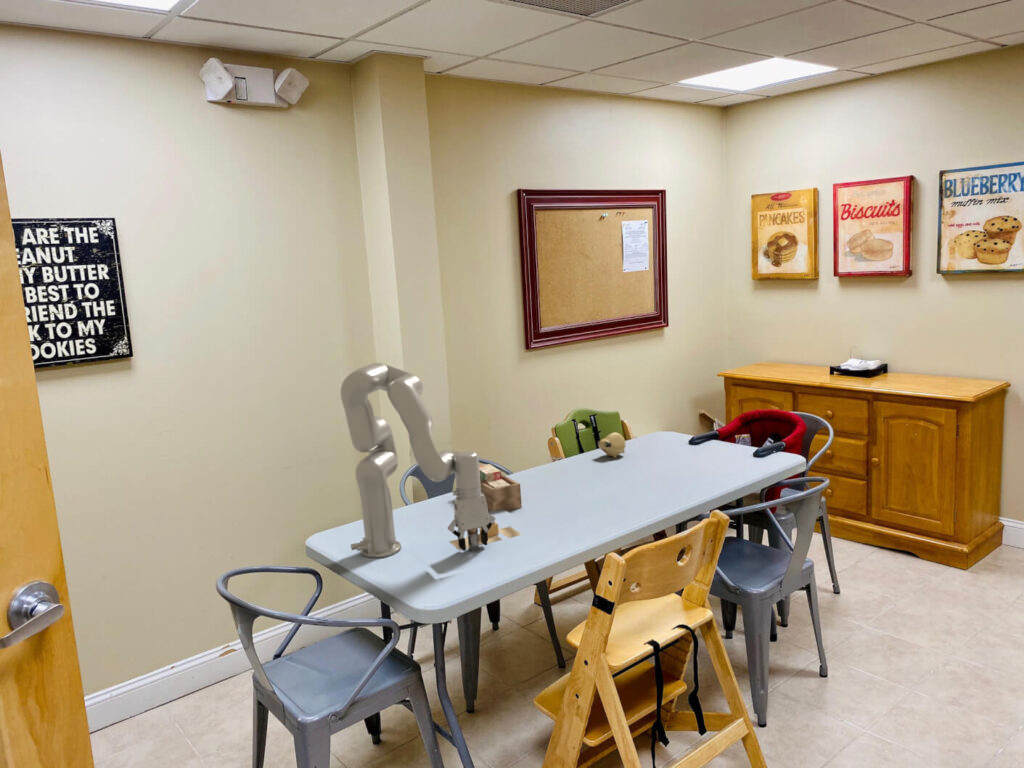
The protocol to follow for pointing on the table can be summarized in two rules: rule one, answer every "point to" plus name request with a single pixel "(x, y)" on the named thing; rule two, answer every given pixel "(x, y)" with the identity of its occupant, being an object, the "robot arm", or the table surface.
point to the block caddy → (502, 495)
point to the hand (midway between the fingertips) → (473, 546)
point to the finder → (492, 529)
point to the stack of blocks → (491, 476)
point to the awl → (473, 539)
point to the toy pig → (612, 444)
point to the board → (490, 537)
